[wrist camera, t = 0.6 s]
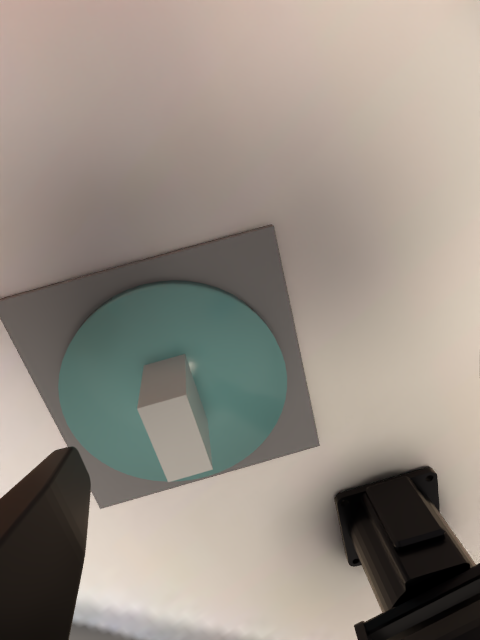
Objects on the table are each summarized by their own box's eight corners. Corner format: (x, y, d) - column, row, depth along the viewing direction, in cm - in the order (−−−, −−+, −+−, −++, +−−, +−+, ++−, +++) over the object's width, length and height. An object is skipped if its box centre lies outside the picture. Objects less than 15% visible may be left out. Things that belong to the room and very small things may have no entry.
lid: (299, 436, 24) (324, 497, 20) (111, 490, 24) (97, 564, 20) (257, 252, 20) (277, 282, 15) (24, 317, 19) (-18, 365, 15)
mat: (317, 441, 25) (319, 445, 24) (101, 503, 25) (100, 508, 24) (271, 224, 20) (273, 226, 19) (-5, 300, 19) (-8, 303, 19)
